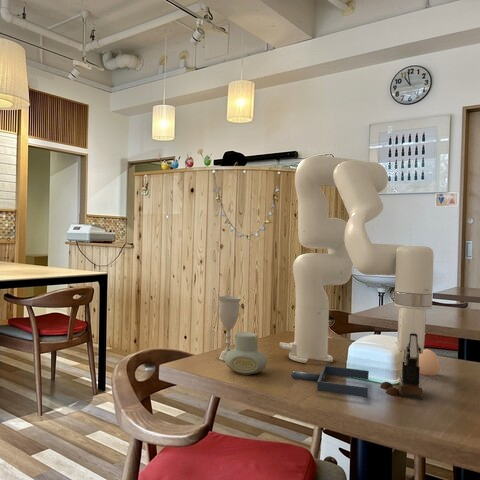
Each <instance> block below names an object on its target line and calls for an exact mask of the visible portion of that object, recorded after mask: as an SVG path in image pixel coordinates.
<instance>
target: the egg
mask: <svg viewBox="0 0 480 480" xmlns="http://www.w3.org/2000/svg"><path fill="white" fill-rule="evenodd" d="M419 367H420V373H419V375H424V376H429V377H430V376H432V377H434V376H437V375H438V374H439V372H440V370H441V363H440V359H439V357H438V355H437V354H436V353H435V352H434V351H433V350H431V349H429V348H424V350H423V353H422V354H420V353H419Z"/></svg>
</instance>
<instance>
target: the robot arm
mask: <svg viewBox="0 0 480 480" xmlns="http://www.w3.org/2000/svg"><path fill="white" fill-rule="evenodd" d="M294 173H295V174H294V186H295V187H294V188H295V192H296V199H297V210H298V211H297V222H298V223H297V234H298V242H299V245H301V246H302V247H304V248H307V249H314V250H316V249H317V250H319V249H320V250H327V253H324V252H307V253H303V254H300V255H299V256H297V257H296V258H295V260H294V261H293V264H292V273H293V279H294V288H295V290H294V291H295V302H294V303H295V305H294V306H295V309H294V310H295V311H294V317H295V318H294V341H293V342H290V343H287V342H283V341H282V342H281V341H280V342H279V349H280V350H282V351H289V353H288V359H290V360H291V361H294V362H298V363H301V364H307V362H308V360H309V359H310V360H315V361H324V362H332V363H333V362H334V357H333V356H332V355H330V354H328V352H329V351H328V349H329V322H330V321H329V319H330V317H329V315H330V301H329V297H328V293H327V292H326V290H325V288H324V286H341V285H345V284H346V283H348V282H349V281H350V279H351V277H352V273H353V266H354V268H355V269H356V270H357V272H359V273H360V274H363V275H366V276H394V302H393V303H394V307H398V316H397V337H396V338H397V339H396V347H397V350H398V352H400V353H402V352H403V361H402V364H401V365H402V366H401V367H402V368H401V377H402V379H403V383H406V384H413V385H419V381H420V367H419V353H420V354H422V353H423V350H425V340H426V339H425V338H426V320H427V319H426V318H427V317H426V315H427V313H426V312H427V310H432V309H433V285H434V284H433V282H434V258H435V257H434V250H433V249H432V248H431V247H430V246H426V245H425V246H423V245H404V244H397V243H394V244H393V243H392V244H391V243H372V241H371V239H370V237H369V234H368V233H367V230H366V223H368V222H370V221H372V220H374V219H376V218H377V217H378V216H379V215H381V213H382V212H383V210H384V202H383V201H382V199H381V197H380V195H379V194H380V193H381V192H382V191H384V190H385V188H386V187H387V185H388V181H389V174H388V172H387V170H386V168H385V167H384V165H382V164H380V163H379V162H374V161H366V160H360V159H353V158H346V157H335V156H328V155H311V156H307V157H305V158H303V159H302V160H301V161H300V162H299V164H298V165H297V168H296V170H295V172H294ZM321 187H334V188H336V189H337V191H338V193H339V197H340V198H341V201H342V203H343V206H344V208H345V210H346V212H347V214H348V217H349V218H348V219H347V221H346V220H344V219H343V218H339V217H329V202H328V199H327V196H326V195H325V192H324V190H322V188H321Z"/></svg>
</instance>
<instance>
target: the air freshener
mask: <svg viewBox="0 0 480 480" xmlns="http://www.w3.org/2000/svg"><path fill="white" fill-rule="evenodd" d="M258 337H259V336H258V334H256V333H254V332H249V331H239V332H236V333H235V334H234V348H232V349H231V350H230V351H229V352H228V353H227V354H226V356H225V361H224V363H225V365H226V366H227V368H229V369H230V370H231V371H233V372H234V373H237V374H239V375H242V376H251V375H253V374H257V373H261V372H262V371H263V370H264V369H265V368H266V366H267V364H268V363H267V362H268V360H267V358H266V356H265V354H264V353H263V352H261V351H260V350H258Z"/></svg>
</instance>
